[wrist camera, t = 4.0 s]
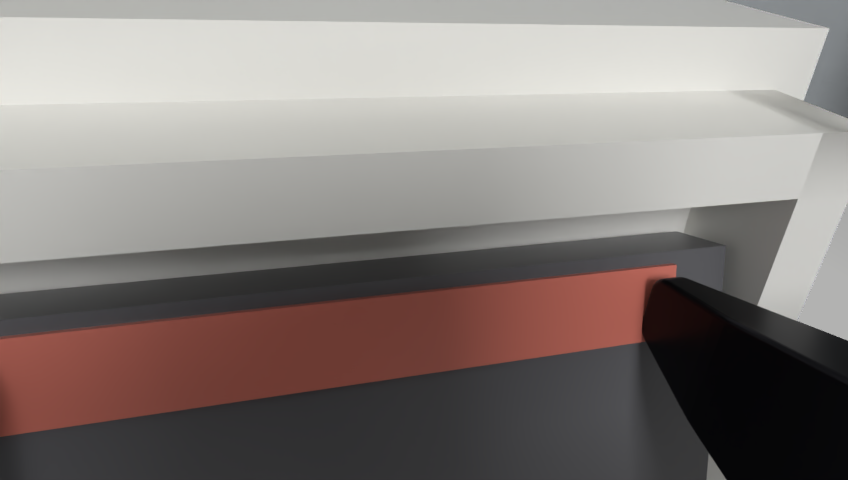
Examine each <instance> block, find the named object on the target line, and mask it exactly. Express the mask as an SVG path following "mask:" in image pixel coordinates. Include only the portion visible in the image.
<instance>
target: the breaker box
mask: <svg viewBox="0 0 848 480" xmlns="http://www.w3.org/2000/svg"><path fill="white" fill-rule="evenodd" d="M828 31H829V28H826V27H822V26H819V25H815V24H811V23H807V22H803V21H800V20H796V19H792V18H788V17H785V16H781V15H777V14H773V13H770V12H766V11H762V10H758V9H755V8H751V7H747V6H743V5H740V4H736V3H732V2H728V1H725V0H0V294H7V293H18V292H28V291H39V290H50V289H61V288H72V287H82V286H93V285H104V284H115V283H125V282H136V281H147V280H158V279H168V278H179V277H190V276H201V275H212V274H222V273H233V272H244V271H255V270H265V269H276V268H287V267H298V266H309V265H319V264H330V263H341V262H352V261H362V260H373V259H384V258H395V257H406V256H416V255H427V254H438V253H449V252H459V251H470V250H481V249H492V248H503V247H513V246H524V245H535V244H546V243H556V242H567V241H578V240H589V239H599V238H610V237H621V236H632V235H643V234H653V233H664V232H675V231H677V232H681V233H684V234H688V235H691V236H695V237H698V238H702V239H705V240H709V241H712V242H716V243H719V244H723V245H726V252H725V264H724V276H723V288H722V292H724V293H726V294H729V295H731V296H734V297H737V298H739V299H742V300H744V301H747V302H749V303H752V304H754V305H757V306H760V307H762V308H765V309H767V310H770V311H772V312H775V313H778V314H780V315H783V316H785V317H788V318H790V319H793V320H796V321H798V319H799V316H800V314H801V312H802V309H803V307H804V304H805V302H806V300H807V298H808V295H809V293H810V290H811V288H812V286H813V283H814V281H815V278H816V276H817V274H818V272H819V269H820V267H821V264H822V262H823V260H824V258H825V255H826V253H827V250H828V248H829V246H830V243H831V241H832V239H833V236H834V234H835V232H836V229H837V227H838V225H839V222H840V220H841V217H842V215H843V213H844V210H845V208H846V206H847V203H848V118H845V117H843V116H840V115H838V114H835V113H833V112H830V111H828V110H825V109H823V108H820V107H817V106H815V105H812V104H810V103H807V102H805V101H804V98H805V95H806V93H807V90H808V87H809V84H810V81H811V79H812V76H813V73H814V70H815V67H816V65H817V62H818V59H819V56H820V53H821V51H822V48H823V45H824V42H825V40H826V37H827V34H828ZM706 480H726V479H725V477H724V476H723V474H722V472H721V471H720V469H719V468H718V466H717V465H716V463H715V462H714V460H713V459H712V457H711V456H710V454H709V455H708V467H707V479H706Z"/></svg>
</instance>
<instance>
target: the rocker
mask: <svg viewBox="0 0 848 480" xmlns="http://www.w3.org/2000/svg"><path fill="white" fill-rule="evenodd" d="M725 252H726V245H723V244H719V243H716V242H712V241H709V240H705V239H702V238H698V237H695V236H691V235H688V234H684V233H681V232H677V231H675V232H664V233H653V234H643V235H632V236H621V237H610V238H599V239H589V240H578V241H567V242H556V243H546V244H535V245H524V246H513V247H503V248H492V249H481V250H470V251H459V252H449V253H438V254H427V255H416V256H406V257H395V258H384V259H373V260H362V261H352V262H341V263H330V264H319V265H309V266H298V267H287V268H276V269H265V270H255V271H244V272H233V273H222V274H212V275H201V276H190V277H179V278H168V279H158V280H147V281H136V282H125V283H115V284H104V285H93V286H82V287H72V288H61V289H50V290H39V291H28V292H18V293H7V294H0V480H706V479H707V467H708V455H709V453H708V451H707V450H706V448H705V447H704V445H703V444H702V442H701V441H700V439H699V438H698V436H697V435H696V433H695V431H694V430H693V428H692V427H691V425H690V423H689V422H688V420H687V418H686V417H685V415H684V413H683V411H682V409H681V408H680V406H679V404H678V402H677V400H676V398H675V396H674V395H673V393H672V391H671V389H670V387H669V385H668V383H667V381H666V379H665V377H664V376H663V374H662V372H661V370H660V368H659V366H658V364H657V362H656V360H655V359H654V357H653V355H652V353H651V351H650V349H649V347H648V345H647V343H646V342H645V340H644V337H643V334H642V321H643V316H644V313H645V309H646V306H647V303H648V299H649V296H650V293H651V289H652V287H653V285H654V284H655V282H656V281H658V280H660V279H664V278H672V277H685V278H688V279H690V280H693V281H695V282H698V283H701V284H703V285H706V286H708V287H711V288H713V289H716V290H719V291H721V292H722V288H723V276H724V264H725Z"/></svg>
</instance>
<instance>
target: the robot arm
mask: <svg viewBox="0 0 848 480" xmlns="http://www.w3.org/2000/svg"><path fill="white" fill-rule="evenodd" d="M642 334H643V337H644V340H645V342H646V343H647V345H648V347H649V349H650V351H651V353H652V355H653V357H654V359H655V360H656V362H657V364H658V366H659V368H660V370H661V372H662V374H663V376H664V377H665V379H666V381H667V383H668V385H669V387H670V389H671V391H672V393H673V395H674V396H675V398H676V400H677V402H678V404H679V406H680V408H681V409H682V411H683V413H684V415H685V417H686V418H687V420H688V422H689V423H690V425H691V427H692V428H693V430H694V431H695V433H696V435H697V436H698V438H699V439H700V441H701V442H702V444H703V445H704V447H705V448H706V450H707V451H708V453H709V454H710V456H711V457H712V459H713V460H714V462H715V463H716V465H717V466H718V468H719V469H720V471H721V472H722V474H723V476H724V477H725V479H726V480H848V341H847V340H844V339H842V338H839V337H836V336H834V335H831V334H829V333H826V332H824V331H821V330H819V329H816V328H814V327H811V326H808V325H806V324H803V323H800V322H798V321H796V320H793V319H790V318H788V317H785V316H783V315H780V314H778V313H775V312H772V311H770V310H767V309H765V308H762V307H760V306H757V305H754V304H752V303H749V302H747V301H744V300H742V299H739V298H737V297H734V296H731V295H729V294H726V293H724V292H721V291H719V290H716V289H713V288H711V287H708V286H706V285H703V284H701V283H698V282H695V281H693V280H690V279H688V278H685V277H672V278H664V279H660V280H658V281H656V282H655V284H654V285H653V287H652V289H651V293H650V296H649V299H648V303H647V306H646V309H645V313H644V316H643V321H642Z"/></svg>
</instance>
